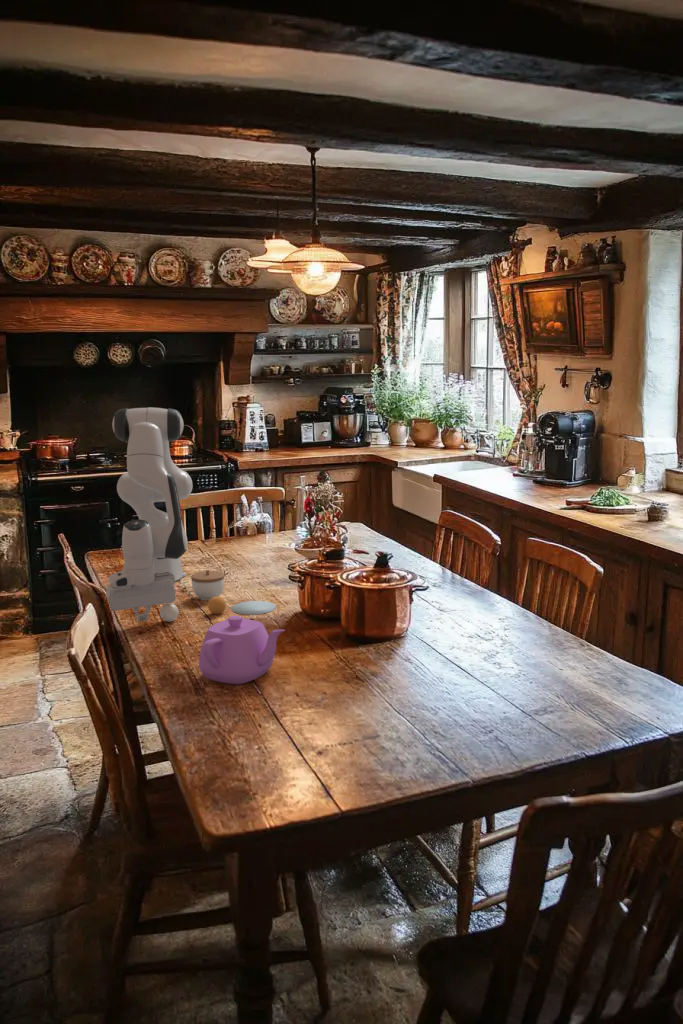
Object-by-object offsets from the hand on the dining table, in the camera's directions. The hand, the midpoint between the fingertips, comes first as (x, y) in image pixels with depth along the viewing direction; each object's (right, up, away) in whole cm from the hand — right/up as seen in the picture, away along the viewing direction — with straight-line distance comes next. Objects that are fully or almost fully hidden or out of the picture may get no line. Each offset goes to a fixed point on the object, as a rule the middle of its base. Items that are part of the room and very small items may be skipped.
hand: (142, 620), depth 255 cm
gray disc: (+32, +2, +15) cm, 35 cm away
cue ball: (+7, +2, +3) cm, 8 cm away
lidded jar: (+16, +4, +27) cm, 32 cm away
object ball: (+21, +3, +10) cm, 23 cm away
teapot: (+34, -9, -40) cm, 53 cm away
